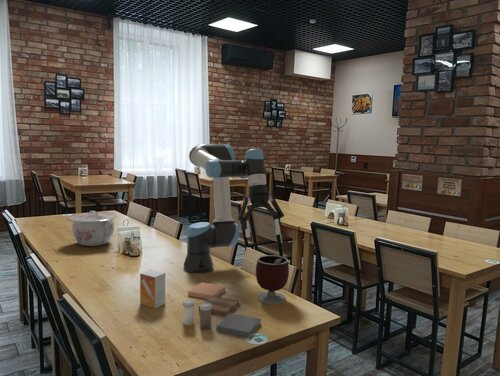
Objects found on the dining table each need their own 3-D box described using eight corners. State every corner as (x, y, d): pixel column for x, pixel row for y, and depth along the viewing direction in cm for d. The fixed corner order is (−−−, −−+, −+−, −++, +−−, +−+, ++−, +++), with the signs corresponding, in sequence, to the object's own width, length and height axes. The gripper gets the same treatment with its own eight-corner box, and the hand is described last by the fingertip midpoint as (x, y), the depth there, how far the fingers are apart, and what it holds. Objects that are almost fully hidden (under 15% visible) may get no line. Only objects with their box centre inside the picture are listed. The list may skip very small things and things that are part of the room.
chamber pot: (71, 239, 268) (70, 207, 265) (116, 237, 276) (116, 206, 273) (66, 251, 241) (65, 215, 239) (116, 248, 249) (116, 214, 247)
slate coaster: (231, 317, 159) (231, 312, 159) (260, 323, 154) (260, 318, 154) (216, 331, 148) (216, 325, 148) (248, 338, 143) (248, 332, 143)
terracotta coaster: (201, 286, 191) (201, 282, 190) (225, 290, 186) (225, 286, 186) (187, 295, 180) (187, 291, 179) (212, 300, 175) (212, 295, 175)
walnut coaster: (212, 300, 175) (212, 295, 175) (239, 305, 171) (239, 300, 170) (198, 311, 164) (198, 306, 164) (226, 316, 160) (226, 311, 159)
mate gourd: (250, 294, 183) (251, 249, 180) (279, 291, 187) (280, 247, 185) (264, 308, 168) (265, 260, 166) (295, 304, 173) (297, 257, 171)
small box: (139, 304, 169) (139, 273, 167) (150, 299, 174) (150, 269, 173) (155, 309, 165) (155, 277, 163) (165, 303, 171) (165, 272, 169)
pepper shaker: (203, 323, 153) (203, 302, 152) (213, 325, 152) (213, 304, 151) (197, 328, 149) (197, 306, 148) (207, 330, 148) (208, 308, 147)
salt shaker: (186, 320, 156) (186, 298, 155) (196, 322, 154) (196, 300, 153) (180, 324, 152) (180, 303, 151) (190, 326, 150) (190, 305, 149)
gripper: (233, 184, 169) (238, 237, 165) (288, 182, 178) (294, 232, 175) (227, 188, 175) (231, 239, 172) (280, 186, 185) (285, 234, 182)
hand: (263, 236), depth 173 cm, fingers open, 13 cm apart
